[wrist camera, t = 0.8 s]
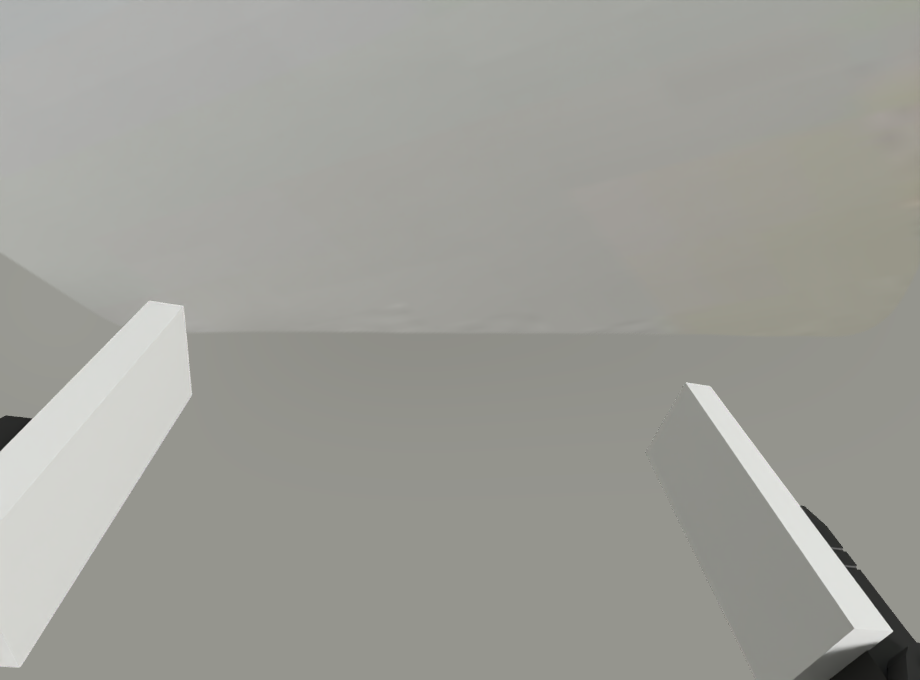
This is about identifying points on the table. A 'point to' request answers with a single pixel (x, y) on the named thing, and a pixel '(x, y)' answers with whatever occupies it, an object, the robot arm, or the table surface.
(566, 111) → the table surface
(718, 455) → the robot arm
